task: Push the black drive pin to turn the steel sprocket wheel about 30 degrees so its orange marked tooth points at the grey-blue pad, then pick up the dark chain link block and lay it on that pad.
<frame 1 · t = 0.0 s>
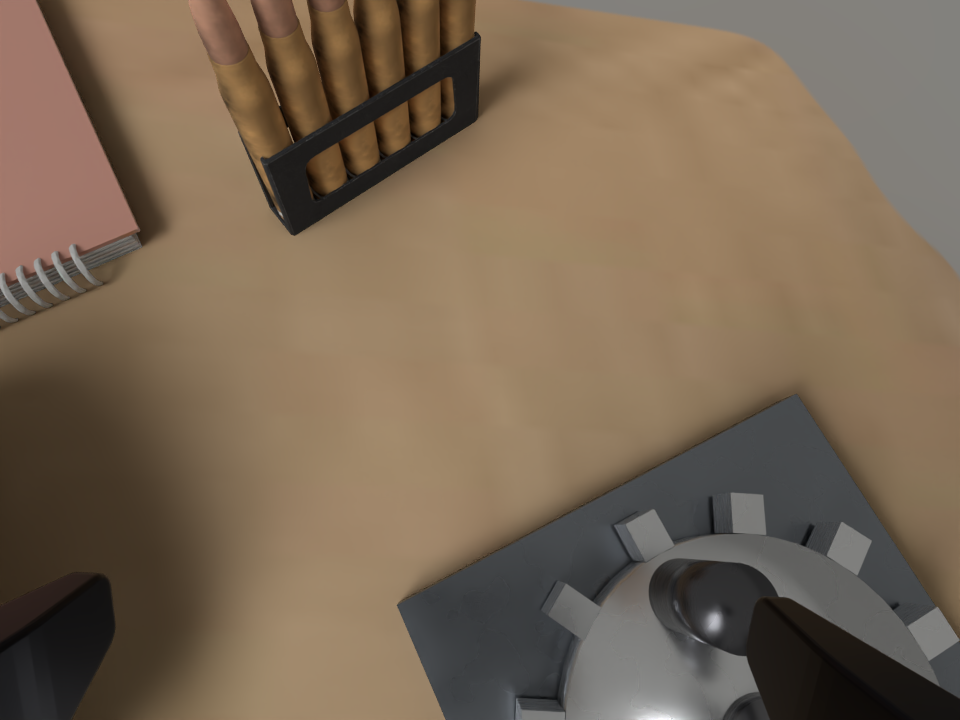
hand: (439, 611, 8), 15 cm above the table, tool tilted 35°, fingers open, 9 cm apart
ammunition clip: (378, 164, 28), on the table
base plate: (726, 719, 21), on the table
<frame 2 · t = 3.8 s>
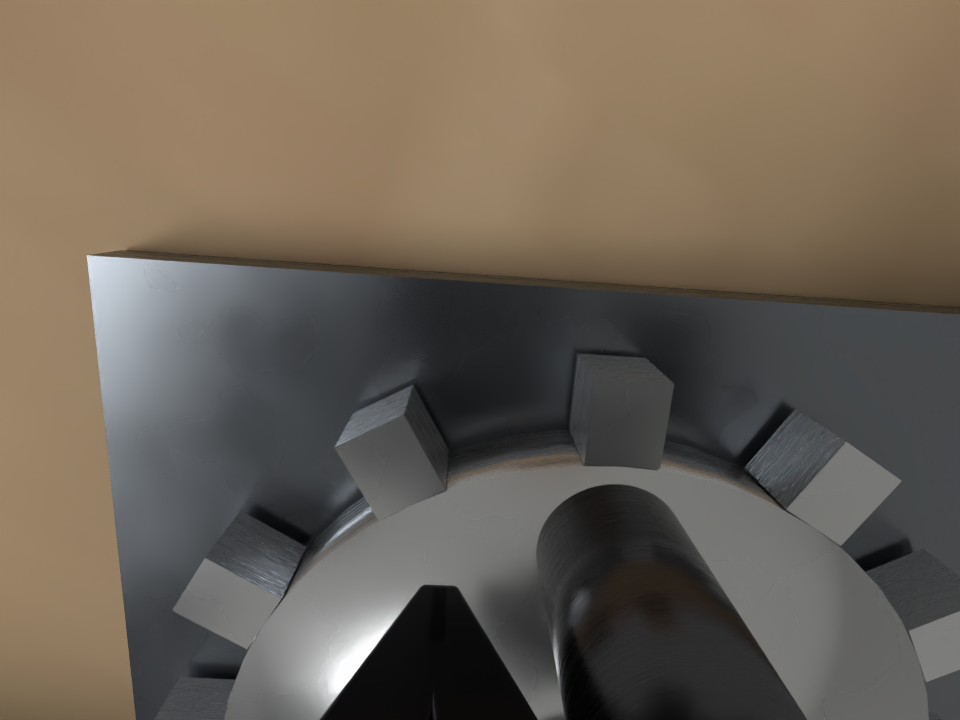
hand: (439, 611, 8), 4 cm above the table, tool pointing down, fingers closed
base plate: (555, 673, 13), on the table
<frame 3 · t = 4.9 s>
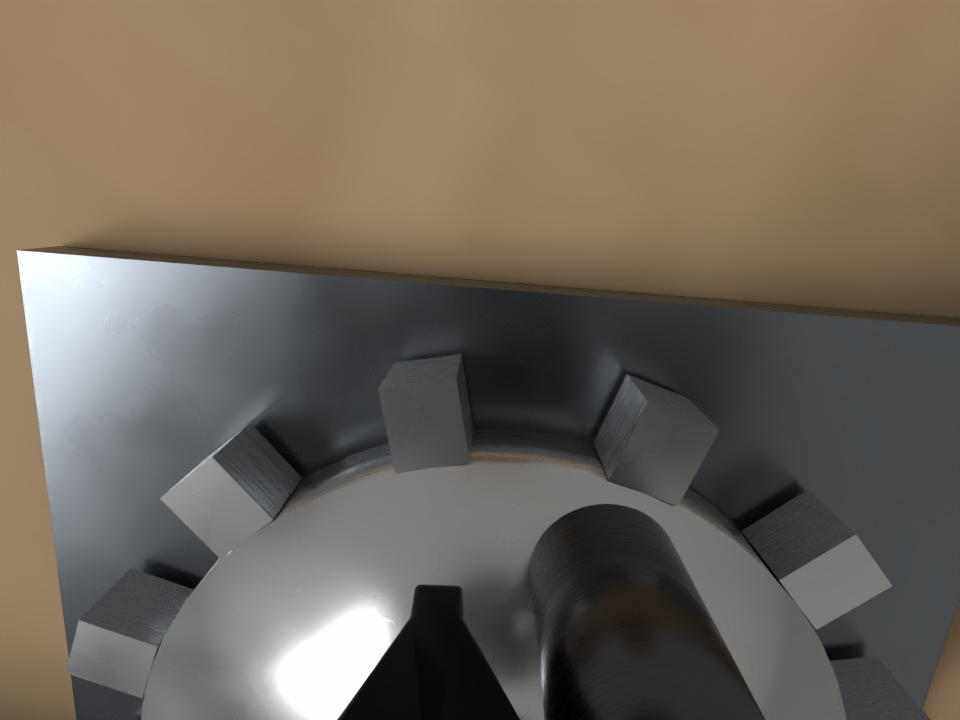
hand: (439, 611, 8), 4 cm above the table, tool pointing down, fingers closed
base plate: (490, 673, 13), on the table
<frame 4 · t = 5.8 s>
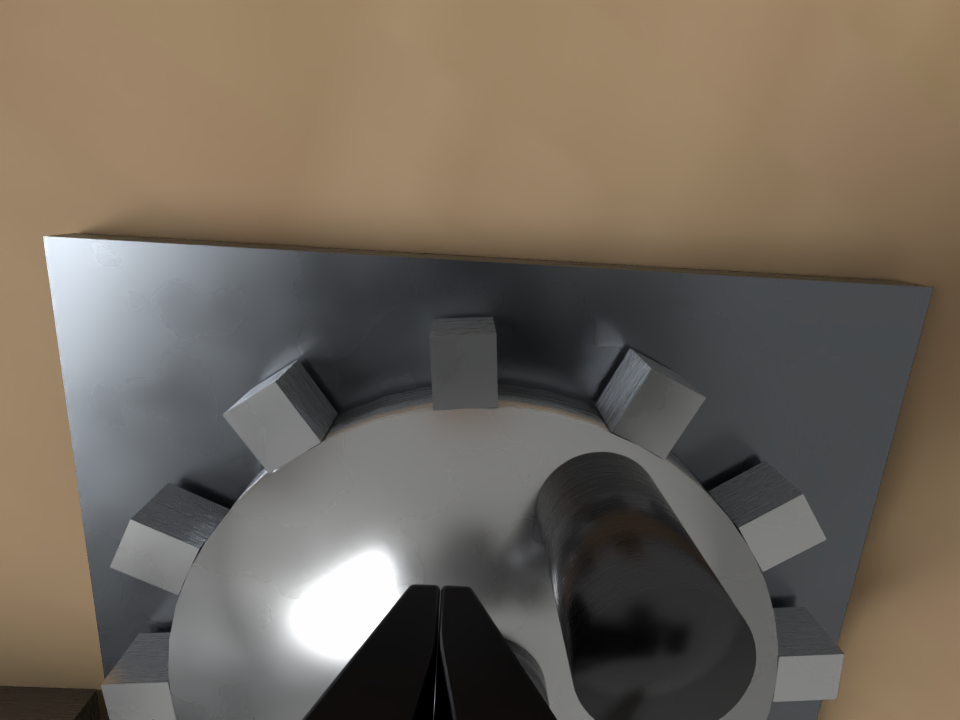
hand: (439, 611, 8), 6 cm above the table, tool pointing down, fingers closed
base plate: (474, 607, 15), on the table
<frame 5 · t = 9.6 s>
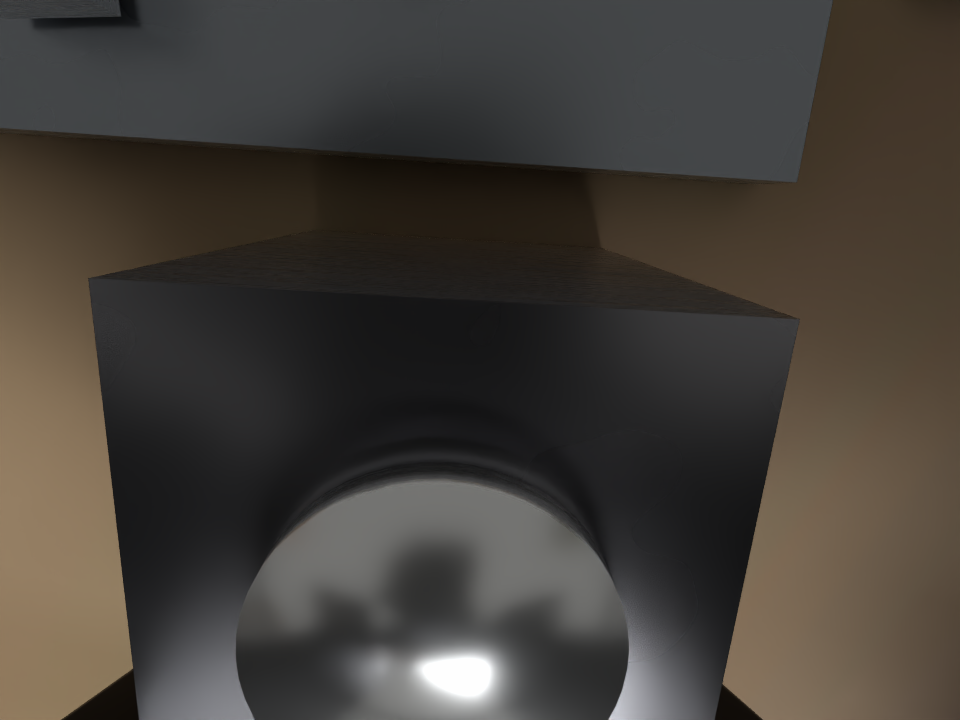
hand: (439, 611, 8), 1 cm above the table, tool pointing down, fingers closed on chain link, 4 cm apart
chain link: (442, 554, 9), on the table, touching gripper
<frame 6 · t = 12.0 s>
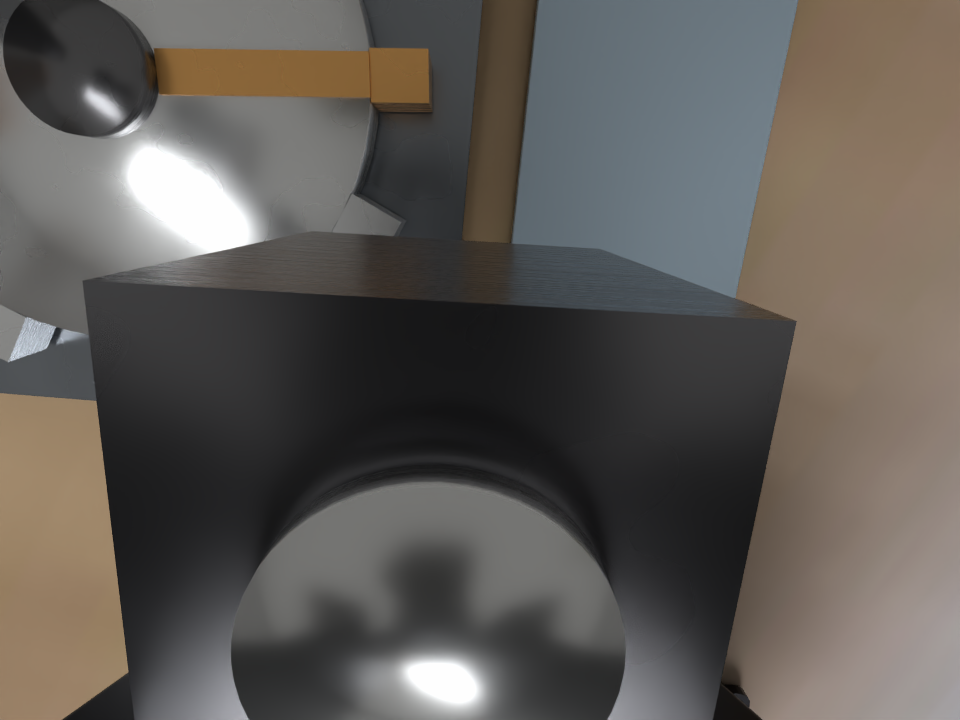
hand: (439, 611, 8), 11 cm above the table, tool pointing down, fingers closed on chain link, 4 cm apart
chain link: (441, 555, 9), point 10 cm above the table, touching gripper
base plate: (153, 92, 16), on the table
sprocket wheel: (59, 59, 13), point 4 cm above the table, hinge at -24.9°
seat pad: (641, 144, 17), on the table
when the fingers open (3 cm above the table, at t = 14.6 s): chain link stays where it is, resting on seat pad.
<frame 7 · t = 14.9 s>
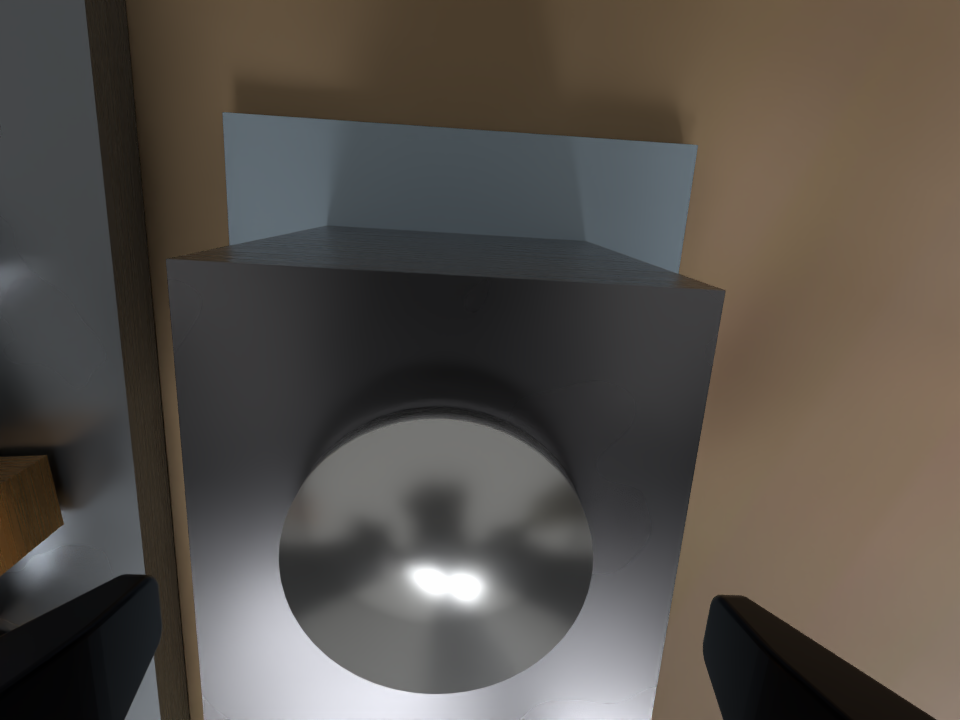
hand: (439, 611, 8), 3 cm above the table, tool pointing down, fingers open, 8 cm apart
chain link: (443, 521, 10), resting on seat pad
seat pad: (445, 506, 11), on the table
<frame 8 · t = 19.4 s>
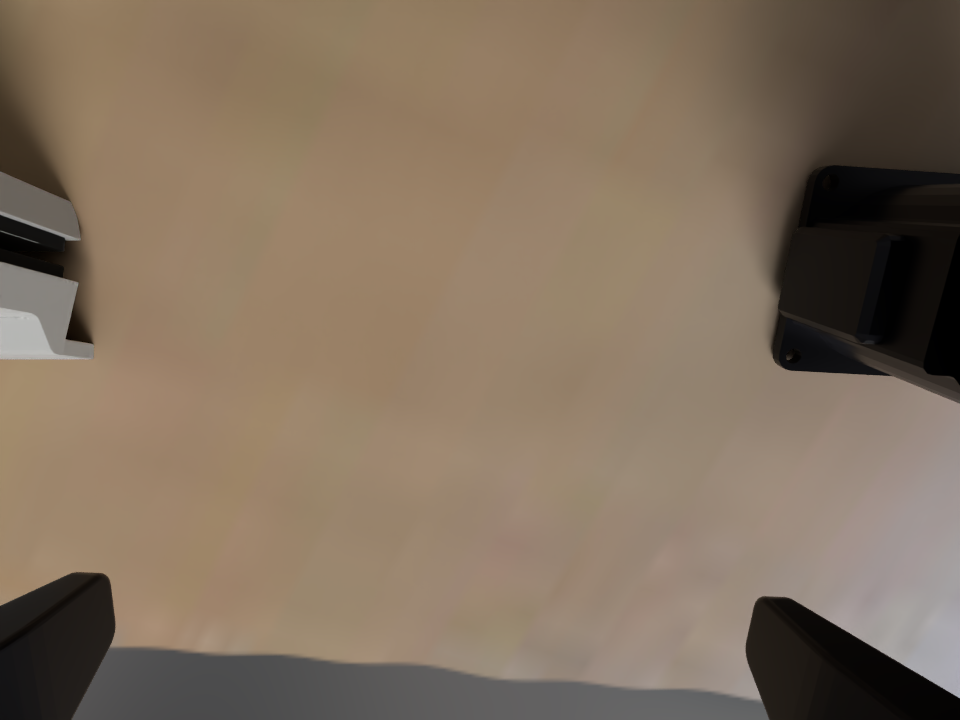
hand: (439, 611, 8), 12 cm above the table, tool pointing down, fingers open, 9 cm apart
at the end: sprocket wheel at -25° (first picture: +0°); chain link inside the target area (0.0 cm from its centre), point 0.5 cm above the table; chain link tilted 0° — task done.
